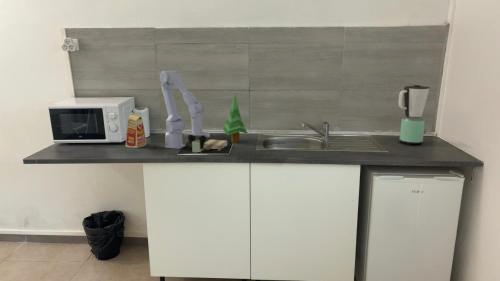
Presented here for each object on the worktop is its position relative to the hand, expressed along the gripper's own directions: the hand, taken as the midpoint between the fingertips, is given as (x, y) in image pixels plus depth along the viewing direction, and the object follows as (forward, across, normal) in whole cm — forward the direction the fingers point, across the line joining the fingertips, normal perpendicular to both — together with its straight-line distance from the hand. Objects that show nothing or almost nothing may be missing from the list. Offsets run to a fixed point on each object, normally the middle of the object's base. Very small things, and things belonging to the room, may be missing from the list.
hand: (197, 148), depth 204 cm
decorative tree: (+2, +13, +27) cm, 30 cm away
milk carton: (+2, -40, +1) cm, 40 cm away
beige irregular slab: (+2, +6, +11) cm, 13 cm away
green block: (+2, 0, 0) cm, 2 cm away
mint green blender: (+2, +116, +54) cm, 128 cm away
